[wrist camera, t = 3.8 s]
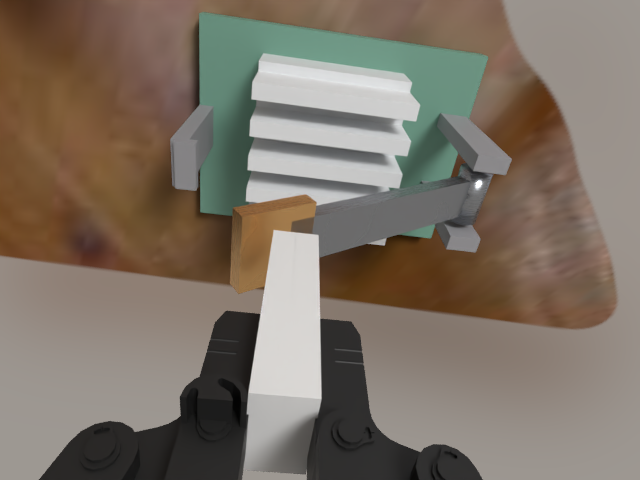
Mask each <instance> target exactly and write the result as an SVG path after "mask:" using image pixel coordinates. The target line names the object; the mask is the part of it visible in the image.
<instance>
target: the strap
mask: <svg viewBox="0 0 640 480" xmlns="http://www.w3.org/2000/svg"><path fill="white" fill-rule="evenodd" d="M492 176H493V173H485V172H478V171H473V170H472V169H471V168H470V166H469V165H468V164H467V163H464V164H462V165H461V168H460V171H459V174H458V176H457V177H452V178H448V179H443V180H438V181H433V182H428V183H423V184H419V185H414V186H409V187H404V188H399V189H395V190H390V191H385V192H380V193H375V194H370V195H366V196H361V197H356V198H351V199H346V200H341V201H337V202H332V203H327V204H322V205H317V206H316V204H317V202H316V201H315V200H313V199H312V198H311V197H309V196H308V195H307V194H304V195H298V196H293V197H288V198H282V199H277V200H271V201H266V202H261V203H255V204H250V205H245V206H239V207H234V208H233V215H232V242H231V268H230V284H231V285H232V286H233V288H234V289H235V290H236V291H237V293H238V294H240V293H243V292H246V291H250V290H253V289H256V288H259V287H263V286H265V283H266V276H267V270H268V264H269V257H270V251H271V244H272V238H273V232H274V230H278V231H287V232H296V233H305V234H314V235H319V257H323V256H326V255H330V254H333V253H337V252H340V251H343V250H347V249H350V248H354V247H357V246H361V245H364V244H367V243H371V242H374V241H378V240H381V239H385V238H388V237H392V236H395V235H398V234H402V233H405V232H409V231H412V230H416V229H419V228H422V227H426V226H429V225H433V224H436V223H440V222H443V221H447V220H451V221H452V222H454V223H457V224H461V225H473V224H475V222H476V219H477V216H478V214H479V211H480V208H481V206H482V203H483V200H484V197H485V195H486V192H487V189H488V187H489V184H490V181H491V179H492Z"/></svg>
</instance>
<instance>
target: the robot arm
mask: <svg viewBox="0 0 640 480" xmlns="http://www.w3.org/2000/svg"><path fill="white" fill-rule="evenodd" d="M180 408H181V409H180V410H181V416H180V417H179V418H178V419H177V420H174V421H173V422H171V423H169V424H166V425H163V426H160V427H157V428H152V429H148V430H143V431H139V432H134V431H133V429H132V428H131V427H129V426H127V425H125V424H124V423H121V422H112V421H108V422H103V423H99V424H94V425H92V426H90V427H89V428H87V429H85V430H83V431H81V432H80V433H79V434H78V435H77V436H76V437H75V438H73V439H72V440H71V441H70V442H69V443H68V445H67V446H66V447H65V448H64V450H63V451H62V452H61V453H60V454H59V456H58V457H57V458H56V460H55V461H54V462H53V463H52V464H51V466H50V467H49V468H48V469H47V471H46V472H45V473H44V474H43V475H42V477H41V478H40V479H39V480H242V475H243V470H248V471H263V472H280V473H293V474H306V470H307V480H482V478H481V476H480V474H479V472H478V471H477V469H476V468H475V466H474V465H473V464H472V462H471V461H470V460H469V459H468V457H466V456H465V455H464V454H462V453H461V452H460V451H458V450H457V449H455V448H452V447H449V446H447V445H437V444H436V445H435V444H433V445H431V446H428V447H426V448H424V449H423V450H422V452H418V451H416V450H413V449H411V448H408V447H406V446H403V445H400V444H398V443H396V442H394V441H392V440H390V439H389V438H387V437H386V436H385V435H384V434H382V433H381V431H380V430H379V429H378V428H377V427H376V425H375V423H374V422H373V420H372V417H371V414H370V409H369V401H368V394H367V386H366V378H365V370H364V365H363V354H362V347H361V339H360V334H359V333H358V331H357V330H356V328H355V327H354V325H353V324H352V322H349V321H339V320H328V319H320V287H319V235H314V234H305V233H296V232H287V231H278V230H274V232H273V238H272V244H271V251H270V257H269V264H268V270H267V276H266V283H265V289H264V296H263V302H262V309H261V314H255V313H244V312H234V311H226V312H225V313H224V314H223V315H222V316H221V317H220V318H219V319H218V320H217V321H216V322H215V324H214V328H213V332H212V335H211V340H210V342H209V346H208V349H207V353H206V357H205V360H204V363H203V367H202V371H201V374H200V377H198V378H196V379H194V380H193V381H192V382H191V383H189V384H188V385H187V386H186V387H185V389H184V390H183V392H182V394H181V396H180Z"/></svg>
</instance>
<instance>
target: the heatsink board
mask: <svg viewBox="0 0 640 480" xmlns="http://www.w3.org/2000/svg"><path fill="white" fill-rule="evenodd" d="M487 60H488V57H487V56H485V55H483V54H478V53H471V52H465V51H458V50H452V49H445V48H438V47H432V46H425V45H418V44H412V43H405V42H399V41H392V40H385V39H379V38H372V37H366V36H359V35H352V34H346V33H339V32H332V31H326V30H319V29H313V28H306V27H299V26H293V25H286V24H279V23H273V22H266V21H260V20H253V19H246V18H240V17H233V16H227V15H220V14H213V13H207V12H202V13H199V63H200V105H199V106H198V107H197V108H196V110H195V111H194V112H193V113H192V114H191V115H190V117H189V118H188V119H187V120H186V121H185V122H184V124H183V125H182V126H181V127H180V128H179V130H178V131H177V132H176V133H175V134H174V135H173V137H172V138H171V139H170V141H171V164H172V186H175V189H184V190H192V191H196V190H197V188H198V171H199V169H200V212H202V213H211V214H220V215H228V216H232V215H233V208H234V207H239V206H245V205H250V204H255V203H261V202H266V201H271V200H277V199H282V198H288V197H293V196H298V195H304V194H307V195H308V196H309V197H311V198H312V199H313V200H315V201H316V202H317V204H316V206H317V205H322V204H327V203H332V202H337V201H341V200H346V199H351V198H356V197H361V196H366V195H370V194H375V193H380V192H385V191H390V190H395V189H399V188H404V187H409V186H414V185H419V184H423V183H428V182H433V181H438V180H443V179H448V178H450V177H451V174H452V170H453V167H454V164H455V161H456V158H457V155H458V153H459V154H460V155H461V157H462V158H463V159H464V160H465V162H466V163H467V164H468V165H469V166H470V168H471V169H472V170H473V171H478V172H485V173H493V174H501V175H506V173H507V170H508V168H509V165H510V162H511V160H512V159H511V158H510V157H509V156H508V155H507V154H506V153H505V152H504V151H503V150H501V149H500V148H499V147H498V146H497V145H496V144H495V143H494V142H493V141H492V140H491V139H490V138H489V137H487V136H486V135H485V134H484V133H483V132H482V131H481V130H480V129H479V128H478V127H477V126H476V125H475V124H474V123H472V122H471V121H470V120H469V117H470V114H471V110H472V107H473V104H474V101H475V98H476V95H477V92H478V88H479V85H480V82H481V79H482V76H483V73H484V69H485V66H486V63H487ZM434 227H436V229H437V231H438V233H439V235H440V237H441V239H442V241H443V243H444V245H445V247H446V249H450V250H460V251H469V252H476V250H477V248H478V245H479V242H480V240H481V239H480V238H479V236H478V234H477V233H476V231H475V230H474V228H473V226H472V225H461V224H457V223H454V222H452V221H451V220H447V221H443V222H440V223H436V224H433V225H429V226H426V227H422V228H419V229H416V230H412V231H409V232H405V233H402V234H398V235H406V236H415V237H424V238H431V237H432V233H433V230H434ZM385 242H386V238H385V239H381V240H378V241H374V242H371V243H367V244H375V245H385Z"/></svg>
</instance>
